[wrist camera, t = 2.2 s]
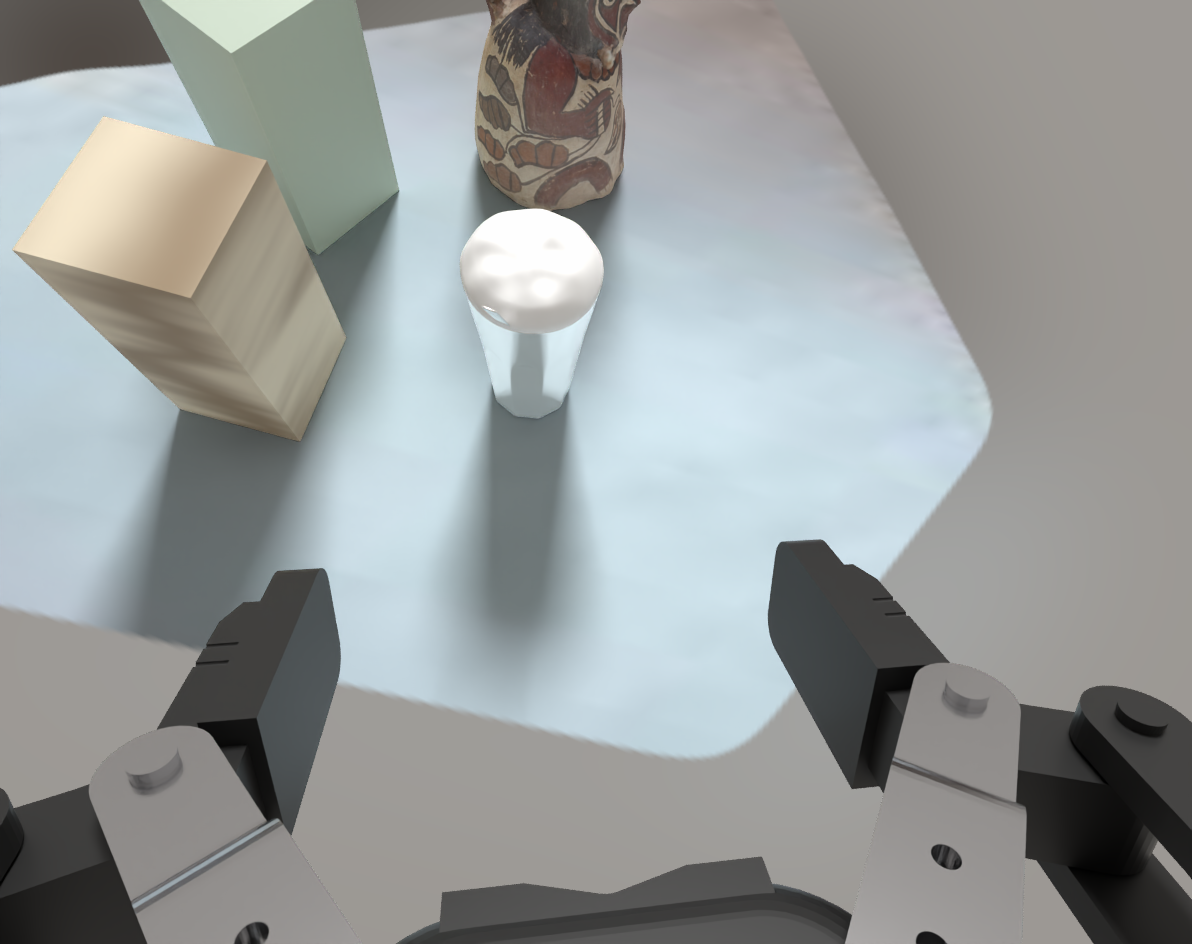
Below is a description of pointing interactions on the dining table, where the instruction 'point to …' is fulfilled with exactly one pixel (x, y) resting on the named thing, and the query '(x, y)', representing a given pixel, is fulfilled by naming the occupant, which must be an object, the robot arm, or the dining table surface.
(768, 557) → the dining table surface
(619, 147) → the figurine
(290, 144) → the sage block
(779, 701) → the dining table surface
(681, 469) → the dining table surface
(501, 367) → the milkshake
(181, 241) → the beech block
